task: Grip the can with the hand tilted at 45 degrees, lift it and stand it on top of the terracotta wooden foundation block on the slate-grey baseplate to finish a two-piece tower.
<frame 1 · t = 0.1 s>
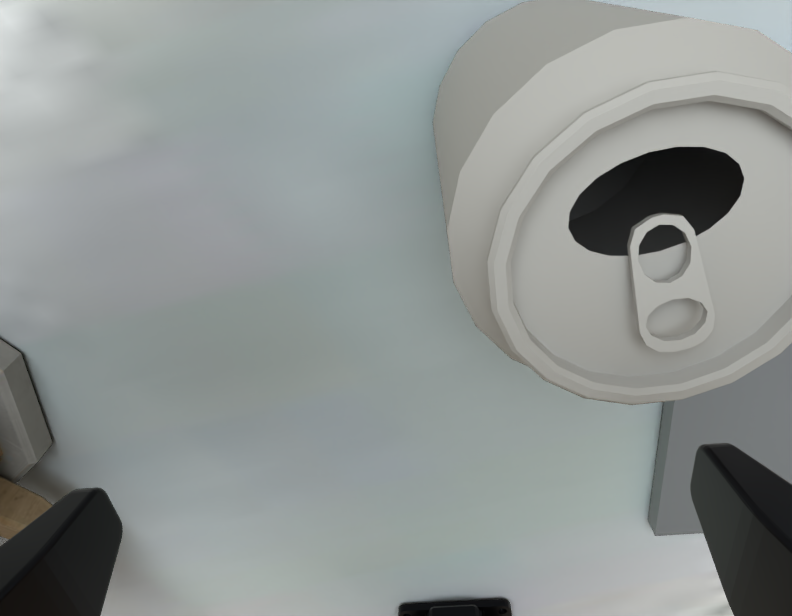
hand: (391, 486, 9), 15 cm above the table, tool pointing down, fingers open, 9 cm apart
can: (538, 115, 20), on the table
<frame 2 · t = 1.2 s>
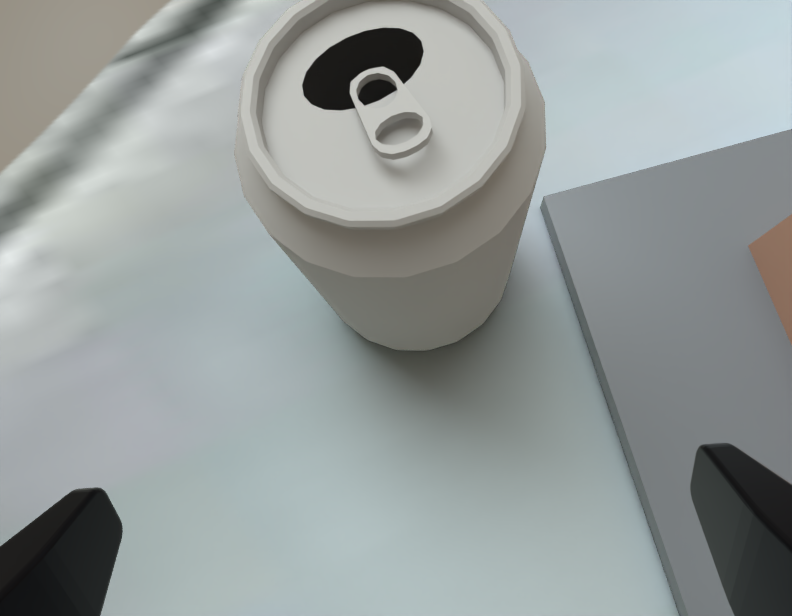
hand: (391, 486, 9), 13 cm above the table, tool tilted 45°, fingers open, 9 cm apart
can: (416, 266, 24), on the table
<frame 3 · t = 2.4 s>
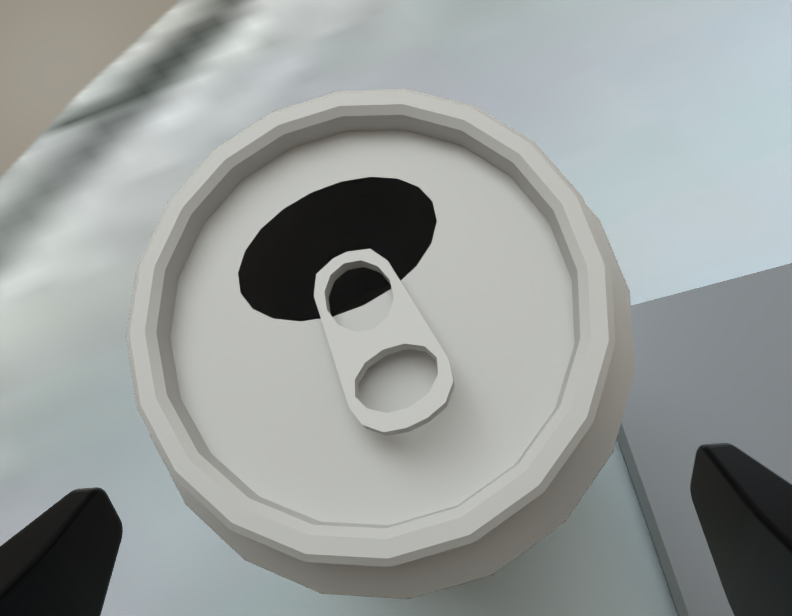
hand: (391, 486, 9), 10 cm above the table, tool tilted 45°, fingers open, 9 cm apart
can: (420, 400, 19), on the table
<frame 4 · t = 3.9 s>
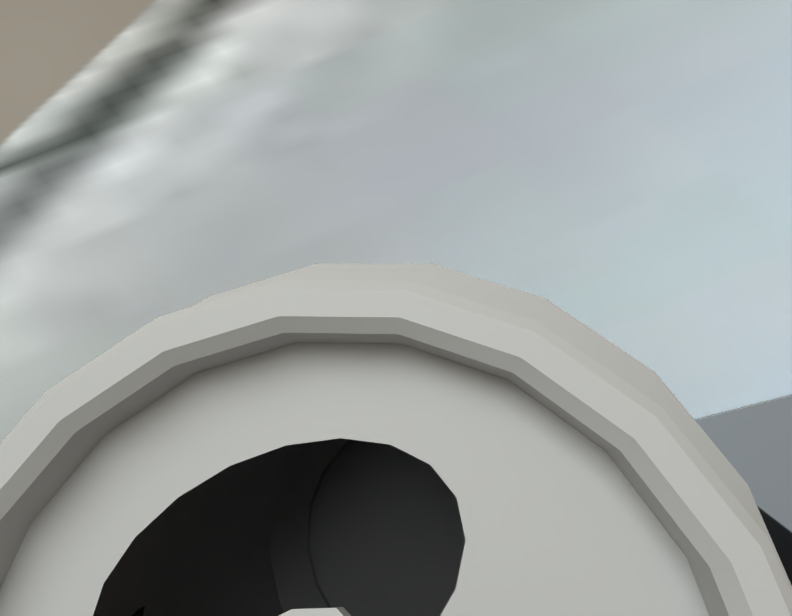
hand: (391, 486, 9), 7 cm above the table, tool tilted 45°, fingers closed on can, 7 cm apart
can: (423, 530, 15), on the table, touching gripper
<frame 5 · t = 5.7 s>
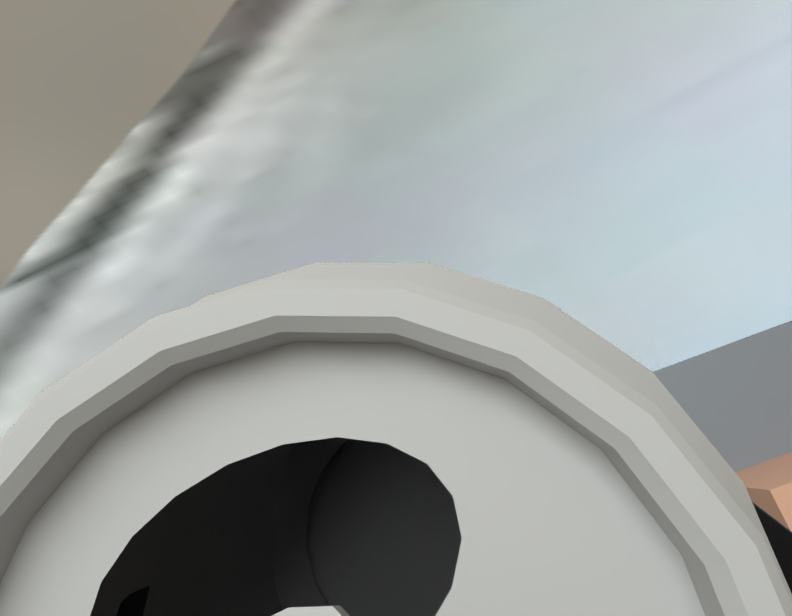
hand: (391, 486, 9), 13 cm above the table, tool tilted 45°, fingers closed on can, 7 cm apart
can: (422, 529, 15), point 6 cm above the table, touching gripper
when the fingers open (12 cm above the table, at t = 8.0 s): can stays where it is, resting on foundation block.
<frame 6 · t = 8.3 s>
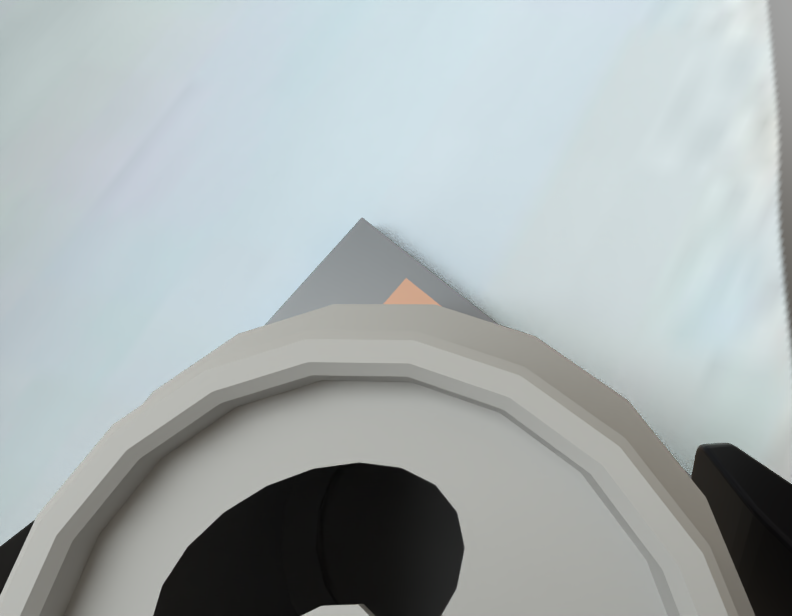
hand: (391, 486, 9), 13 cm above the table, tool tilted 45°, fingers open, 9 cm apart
can: (426, 532, 16), point 5 cm above the table, touching foundation block
foundation block: (431, 513, 20), point 1 cm above the table, touching baseplate, can
baseplate: (430, 609, 20), on the table
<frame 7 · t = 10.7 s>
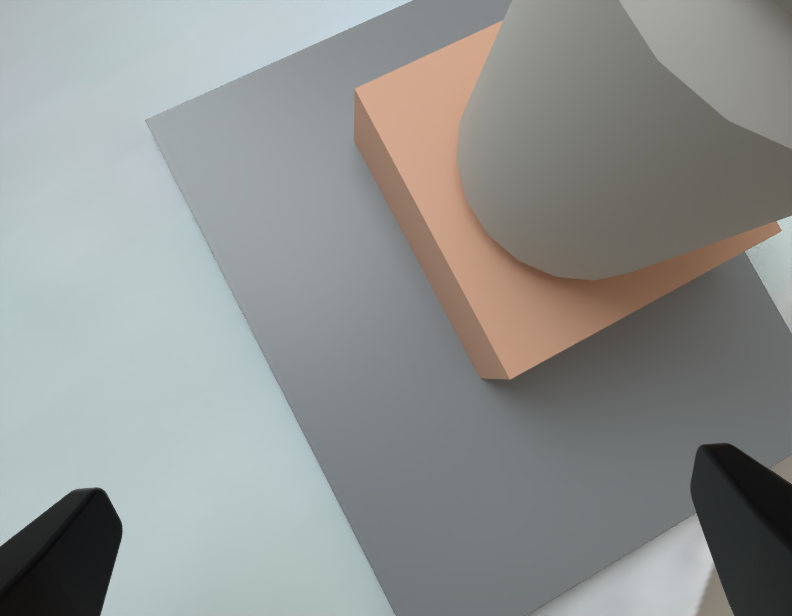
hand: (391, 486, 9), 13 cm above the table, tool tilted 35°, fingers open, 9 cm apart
can: (567, 168, 18), point 5 cm above the table, touching foundation block
foundation block: (531, 198, 22), point 1 cm above the table, touching baseplate, can
baseplate: (493, 279, 23), on the table
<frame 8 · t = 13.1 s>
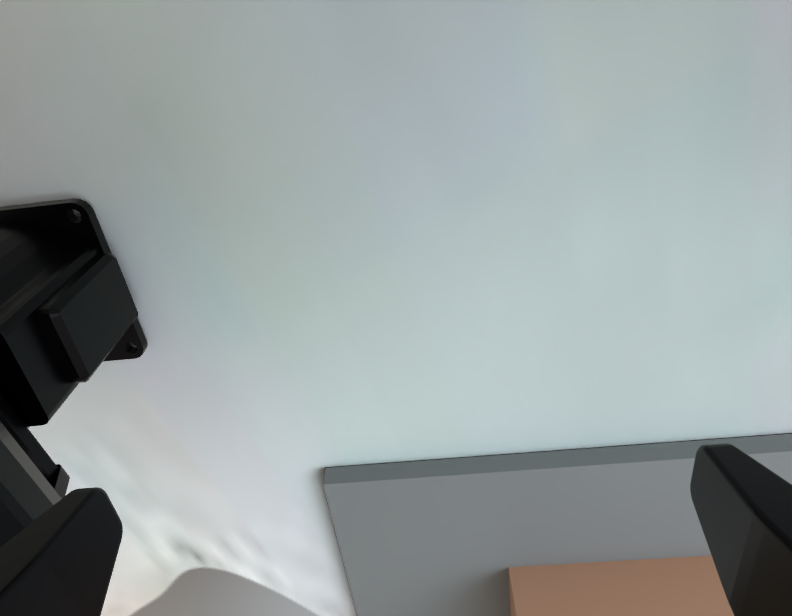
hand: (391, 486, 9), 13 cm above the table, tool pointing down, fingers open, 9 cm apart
baseplate: (565, 577, 30), on the table
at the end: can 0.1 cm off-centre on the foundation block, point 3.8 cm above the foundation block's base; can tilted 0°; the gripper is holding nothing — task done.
